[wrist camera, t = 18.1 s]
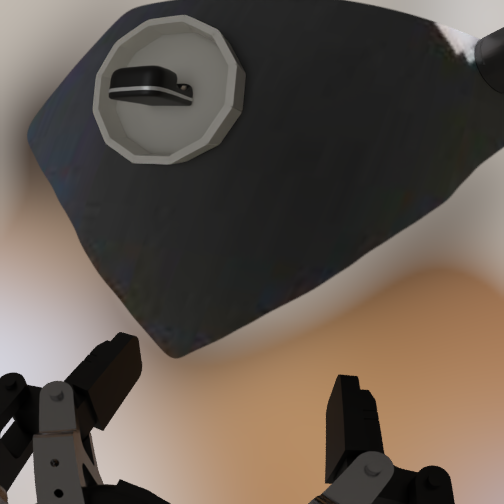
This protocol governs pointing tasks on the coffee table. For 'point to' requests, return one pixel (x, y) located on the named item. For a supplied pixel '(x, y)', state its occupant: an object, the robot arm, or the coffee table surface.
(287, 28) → the coffee table surface
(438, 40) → the coffee table surface
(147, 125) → the bowl
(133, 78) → the battery charger
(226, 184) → the coffee table surface
